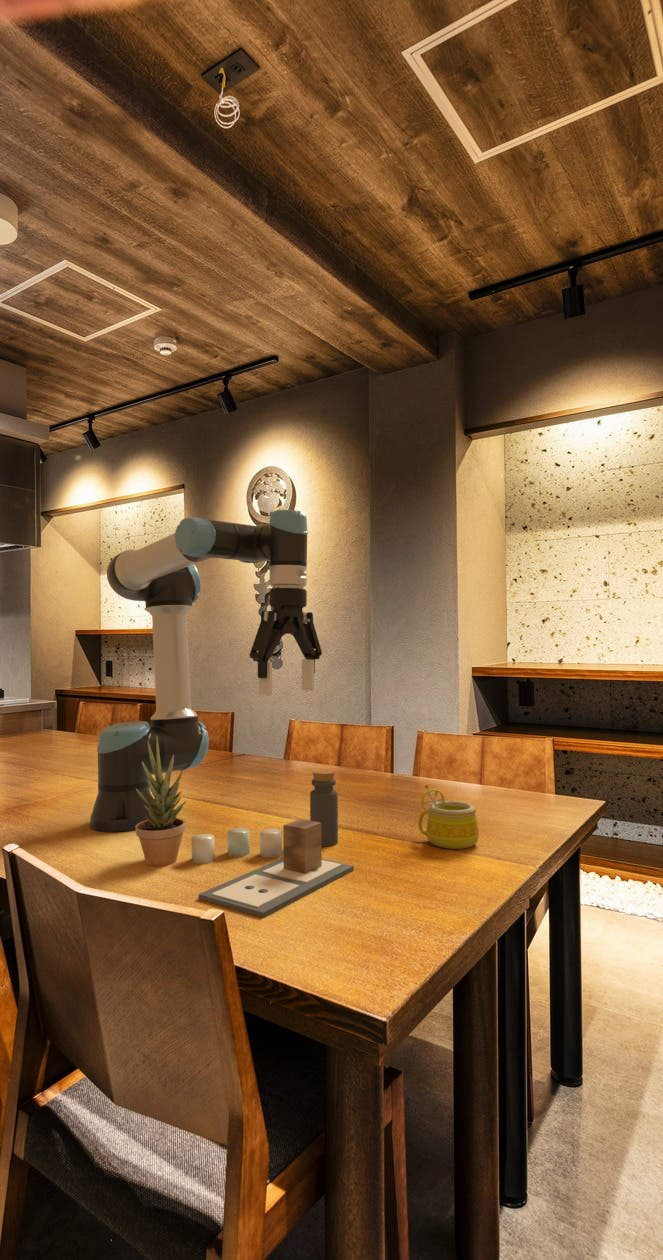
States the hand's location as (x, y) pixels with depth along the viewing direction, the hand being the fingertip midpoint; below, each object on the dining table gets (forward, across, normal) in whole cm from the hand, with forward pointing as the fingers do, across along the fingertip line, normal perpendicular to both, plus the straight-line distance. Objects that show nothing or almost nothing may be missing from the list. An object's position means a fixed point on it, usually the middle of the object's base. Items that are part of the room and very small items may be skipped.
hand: (287, 693), depth 137 cm
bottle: (+32, +10, -2) cm, 34 cm away
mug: (+32, +24, -24) cm, 47 cm away
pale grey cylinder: (+32, -13, +11) cm, 36 cm away
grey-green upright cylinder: (+32, -6, +8) cm, 34 cm away
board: (+32, -14, -10) cm, 37 cm away
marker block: (+31, -8, -10) cm, 33 cm away
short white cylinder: (+32, -2, +2) cm, 33 cm away
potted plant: (+33, -18, +17) cm, 41 cm away
